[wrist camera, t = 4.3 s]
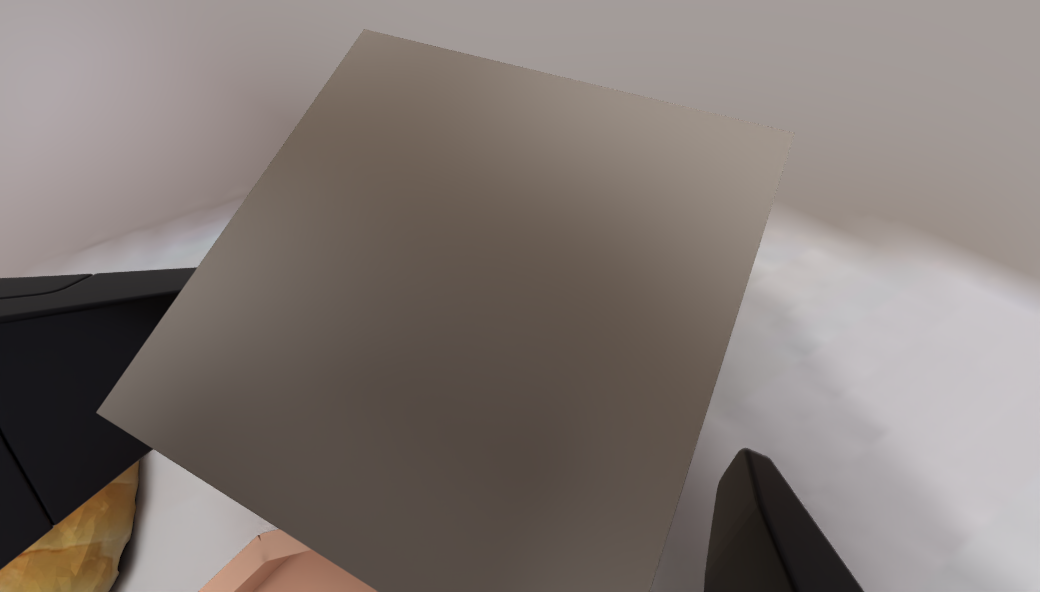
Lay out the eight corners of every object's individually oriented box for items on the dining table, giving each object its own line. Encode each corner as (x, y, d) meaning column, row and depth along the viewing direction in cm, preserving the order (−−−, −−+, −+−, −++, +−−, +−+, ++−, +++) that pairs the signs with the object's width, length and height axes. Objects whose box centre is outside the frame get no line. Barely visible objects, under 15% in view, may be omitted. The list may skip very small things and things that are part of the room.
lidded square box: (584, 509, 15) (603, 734, 3) (440, 437, 16) (97, 412, 5) (640, 357, 16) (793, 132, 5) (504, 302, 18) (364, 29, 6)
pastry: (49, 385, 19) (-69, 371, 16) (184, 382, 19) (92, 366, 15) (-40, 635, 16) (-212, 688, 13) (118, 643, 16) (-18, 702, 12)
